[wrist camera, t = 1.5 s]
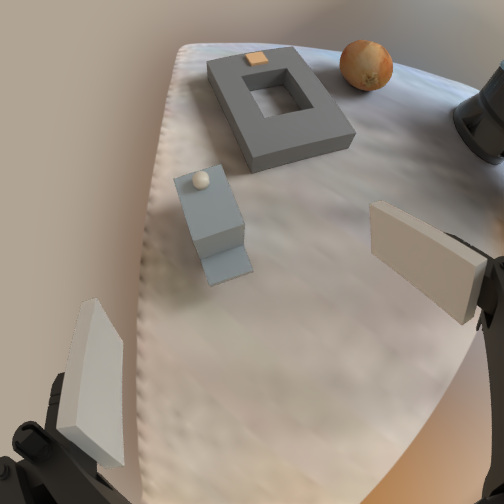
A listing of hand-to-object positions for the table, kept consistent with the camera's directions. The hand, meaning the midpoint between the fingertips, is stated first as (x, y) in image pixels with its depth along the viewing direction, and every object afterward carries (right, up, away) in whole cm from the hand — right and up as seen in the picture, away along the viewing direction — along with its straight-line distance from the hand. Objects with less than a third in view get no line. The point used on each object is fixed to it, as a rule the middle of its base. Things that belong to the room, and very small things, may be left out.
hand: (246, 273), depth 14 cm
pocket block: (+4, +24, +34) cm, 42 cm away
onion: (+20, +33, +37) cm, 54 cm away
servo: (-4, +3, +26) cm, 27 cm away
